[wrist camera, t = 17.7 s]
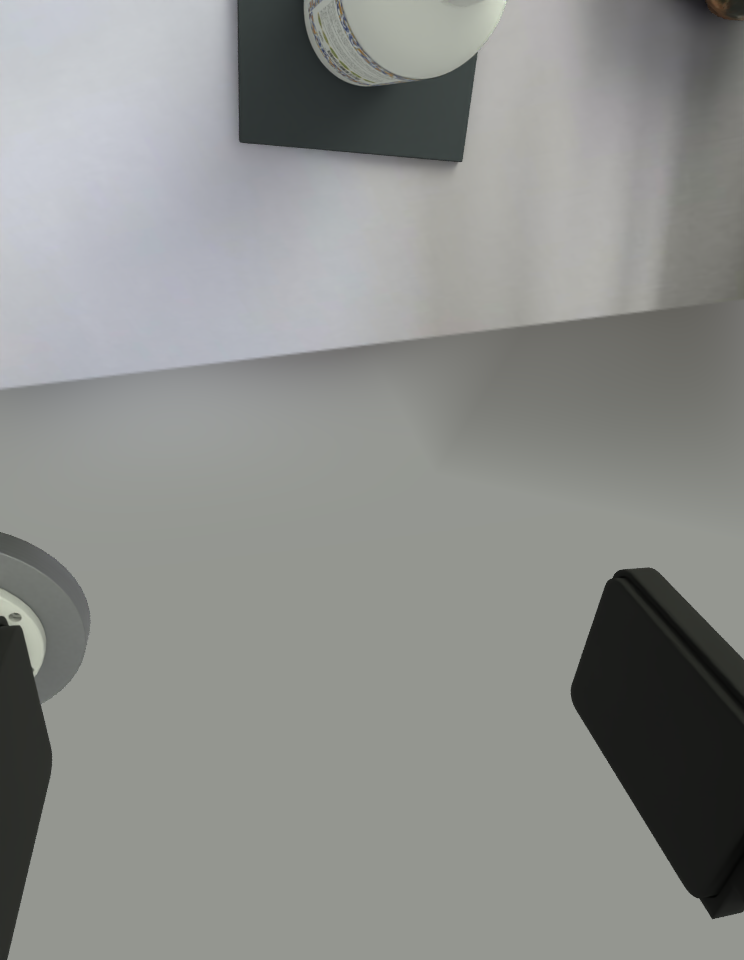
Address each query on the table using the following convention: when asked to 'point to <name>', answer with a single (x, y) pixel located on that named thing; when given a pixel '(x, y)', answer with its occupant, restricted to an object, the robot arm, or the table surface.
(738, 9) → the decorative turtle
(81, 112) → the table surface
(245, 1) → the mat
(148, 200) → the table surface
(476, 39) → the bath foam
